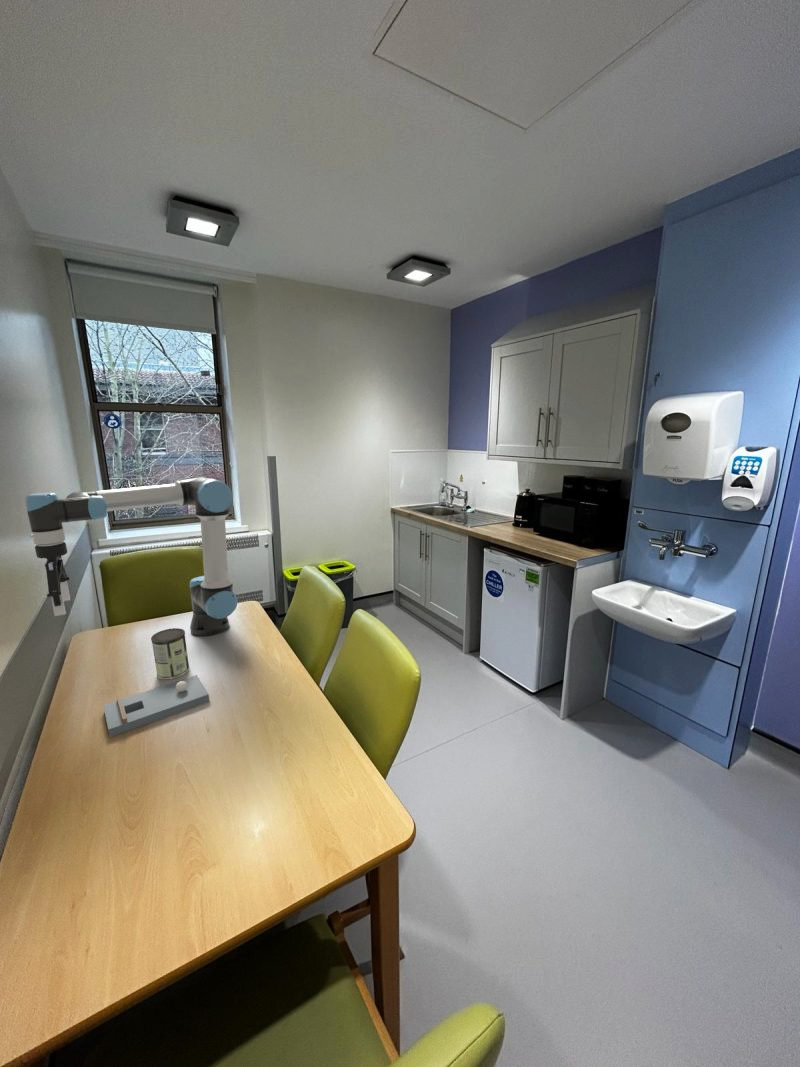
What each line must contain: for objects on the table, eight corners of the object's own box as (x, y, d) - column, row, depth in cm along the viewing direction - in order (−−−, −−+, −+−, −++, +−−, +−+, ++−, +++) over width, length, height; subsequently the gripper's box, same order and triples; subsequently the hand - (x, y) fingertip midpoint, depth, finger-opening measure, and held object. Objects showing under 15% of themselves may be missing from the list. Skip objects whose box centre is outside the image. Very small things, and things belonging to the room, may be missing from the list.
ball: (186, 686, 137) (185, 677, 136) (188, 691, 134) (187, 682, 133) (175, 690, 135) (174, 681, 134) (177, 695, 132) (176, 685, 131)
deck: (197, 681, 144) (196, 670, 143) (209, 701, 133) (208, 689, 132) (104, 712, 128) (102, 700, 127) (109, 737, 117) (107, 724, 117)
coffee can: (168, 663, 155) (163, 627, 152) (195, 664, 154) (191, 628, 151) (149, 679, 145) (143, 641, 142) (178, 680, 144) (173, 642, 141)
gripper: (41, 536, 141) (53, 597, 145) (26, 554, 120) (41, 624, 125) (69, 533, 144) (80, 593, 149) (60, 550, 124) (73, 618, 129)
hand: (62, 607), depth 137 cm, fingers open, 13 cm apart
